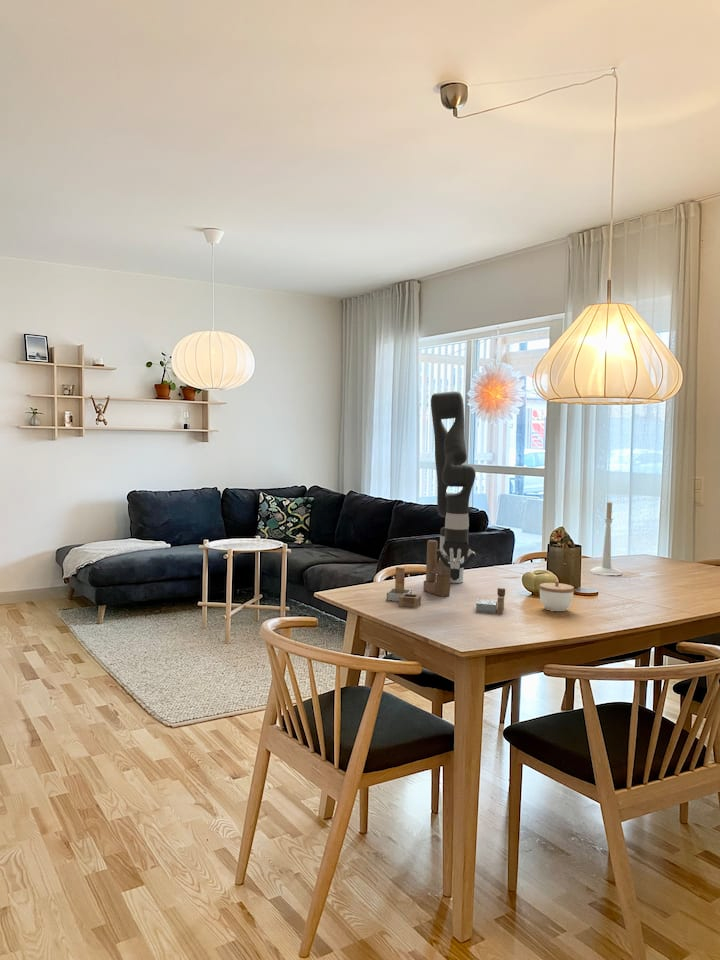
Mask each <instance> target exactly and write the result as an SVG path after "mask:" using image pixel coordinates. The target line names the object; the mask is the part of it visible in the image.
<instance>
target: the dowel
mask: <svg viewBox="0 0 720 960" xmlns="http://www.w3.org/2000/svg"><path fill="white" fill-rule="evenodd" d="M405 568H406V567H404V566H396V567H395V577H394V578H395V583H394V589H395V593H397V594H403V593H404V589H405V573H406V572H405Z"/></svg>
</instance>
